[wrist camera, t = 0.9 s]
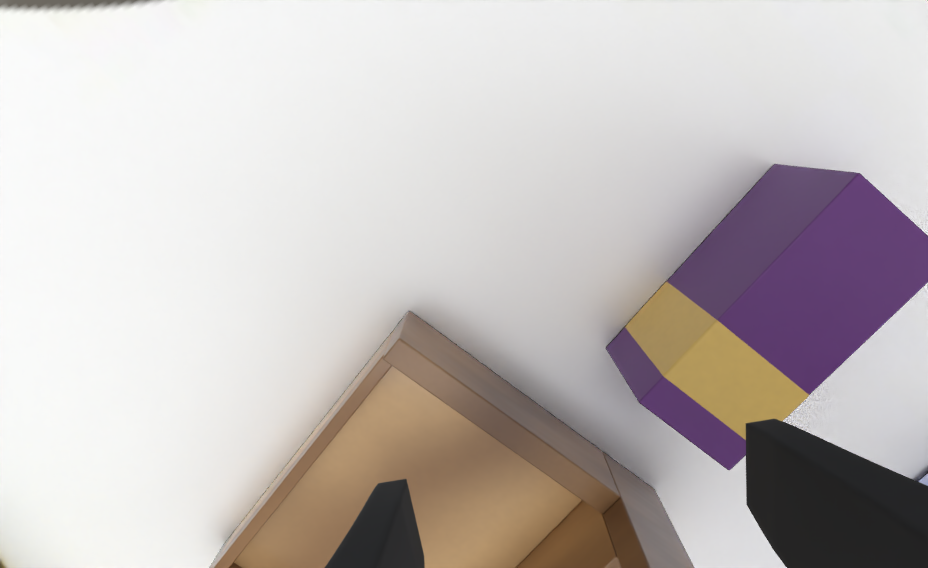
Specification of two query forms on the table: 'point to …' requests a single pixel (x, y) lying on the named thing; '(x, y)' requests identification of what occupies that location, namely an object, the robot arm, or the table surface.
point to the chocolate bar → (770, 305)
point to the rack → (455, 475)
